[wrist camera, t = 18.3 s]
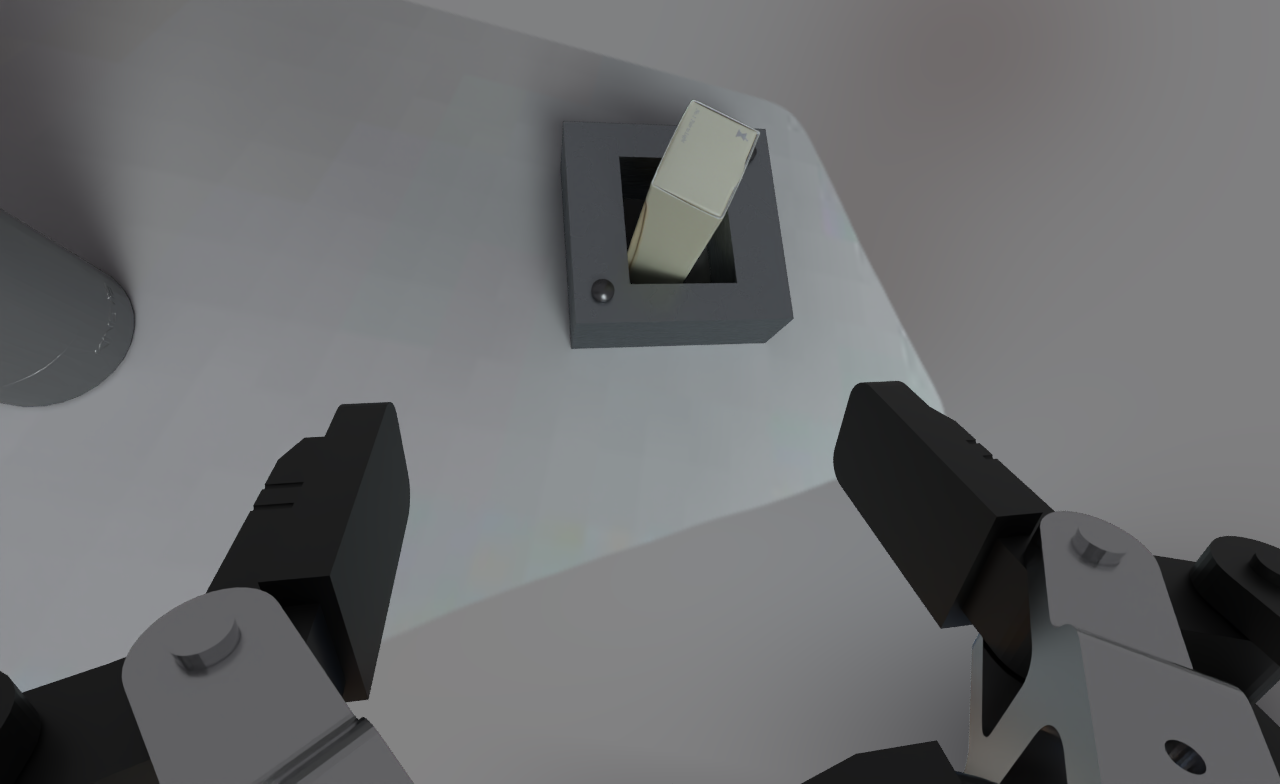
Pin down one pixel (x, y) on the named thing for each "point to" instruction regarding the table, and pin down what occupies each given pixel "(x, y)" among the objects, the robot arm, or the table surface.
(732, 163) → the skincare box
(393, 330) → the table surface
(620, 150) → the housing
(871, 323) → the table surface
